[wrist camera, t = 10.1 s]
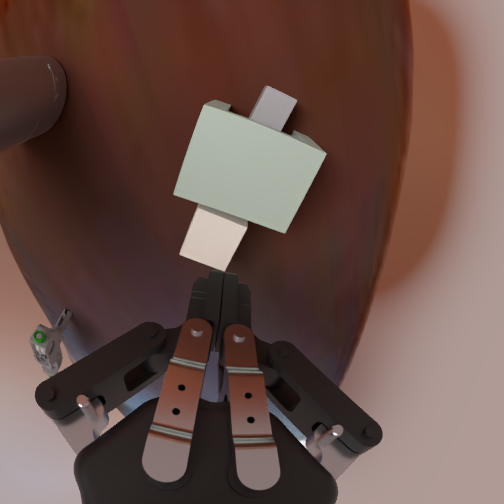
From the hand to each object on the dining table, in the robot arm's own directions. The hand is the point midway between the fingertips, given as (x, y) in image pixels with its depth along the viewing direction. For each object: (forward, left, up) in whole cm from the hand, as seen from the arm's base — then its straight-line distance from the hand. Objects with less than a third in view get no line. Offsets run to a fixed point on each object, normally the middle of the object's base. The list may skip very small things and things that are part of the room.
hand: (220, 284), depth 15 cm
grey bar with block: (+1, +2, -14) cm, 14 cm away
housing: (+2, +3, -14) cm, 14 cm away
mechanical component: (-29, -15, -14) cm, 35 cm away
